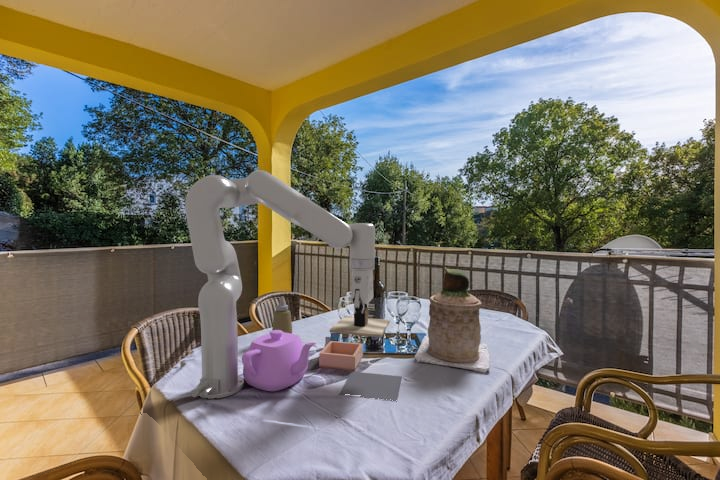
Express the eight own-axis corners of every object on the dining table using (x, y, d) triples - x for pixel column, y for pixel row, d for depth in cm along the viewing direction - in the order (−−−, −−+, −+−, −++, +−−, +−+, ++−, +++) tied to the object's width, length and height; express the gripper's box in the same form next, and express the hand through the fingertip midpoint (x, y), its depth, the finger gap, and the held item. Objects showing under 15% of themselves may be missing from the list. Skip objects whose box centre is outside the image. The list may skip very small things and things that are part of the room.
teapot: (223, 391, 94) (222, 338, 94) (276, 364, 113) (276, 320, 112) (284, 414, 83) (284, 354, 82) (332, 380, 101) (332, 331, 101)
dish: (355, 372, 107) (355, 356, 107) (319, 368, 110) (319, 353, 109) (362, 357, 119) (363, 343, 118) (330, 354, 121) (330, 340, 121)
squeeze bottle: (290, 344, 131) (289, 298, 130) (269, 344, 131) (269, 298, 130) (294, 337, 139) (294, 294, 138) (275, 337, 139) (274, 294, 138)
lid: (380, 337, 93) (381, 316, 93) (329, 332, 97) (329, 312, 96) (389, 322, 108) (390, 304, 107) (344, 318, 111) (345, 301, 111)
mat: (396, 403, 89) (396, 401, 89) (338, 396, 92) (338, 394, 92) (402, 377, 103) (402, 376, 103) (351, 372, 107) (351, 371, 107)
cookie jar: (491, 374, 106) (493, 273, 104) (413, 364, 114) (414, 270, 112) (487, 347, 129) (490, 264, 128) (423, 340, 137) (424, 262, 136)
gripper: (368, 268, 92) (367, 334, 93) (379, 261, 108) (378, 318, 109) (342, 266, 94) (341, 331, 95) (357, 260, 110) (356, 316, 111)
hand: (361, 323), depth 102 cm, fingers closed on lid, 3 cm apart
